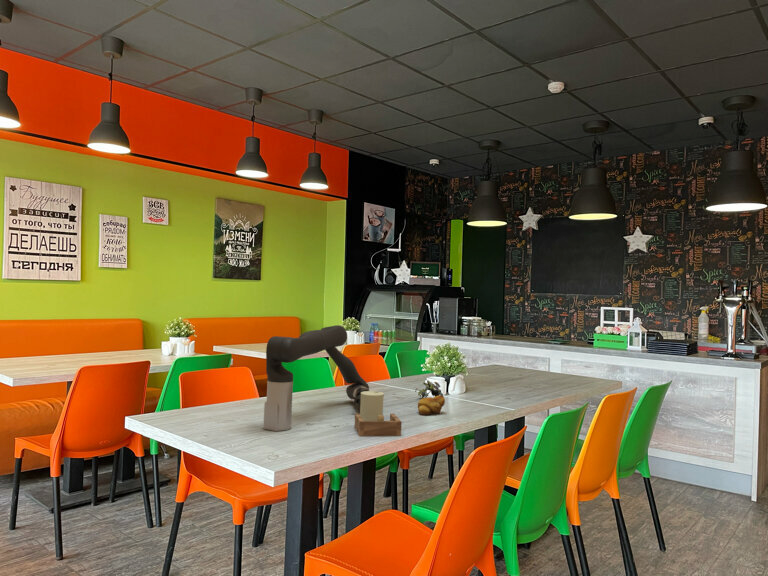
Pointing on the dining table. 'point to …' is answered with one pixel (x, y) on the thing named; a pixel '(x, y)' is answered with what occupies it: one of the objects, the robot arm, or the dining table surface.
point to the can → (371, 405)
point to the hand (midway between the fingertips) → (369, 403)
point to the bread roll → (431, 405)
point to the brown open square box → (378, 426)
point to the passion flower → (430, 386)
